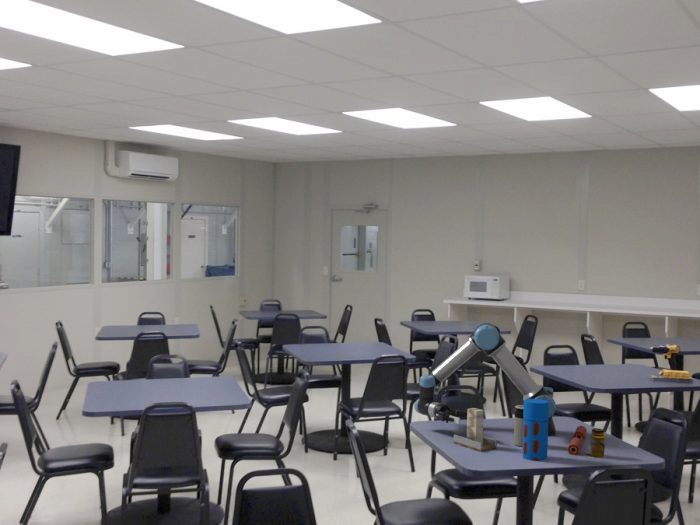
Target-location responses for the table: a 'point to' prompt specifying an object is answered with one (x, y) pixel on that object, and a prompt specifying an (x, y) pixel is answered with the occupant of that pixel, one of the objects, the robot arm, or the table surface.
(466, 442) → the floor track
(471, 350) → the robot arm
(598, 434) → the condiment
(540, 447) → the thermos
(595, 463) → the table surface
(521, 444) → the travel mug
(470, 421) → the pale wooden block
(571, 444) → the blood vessel
